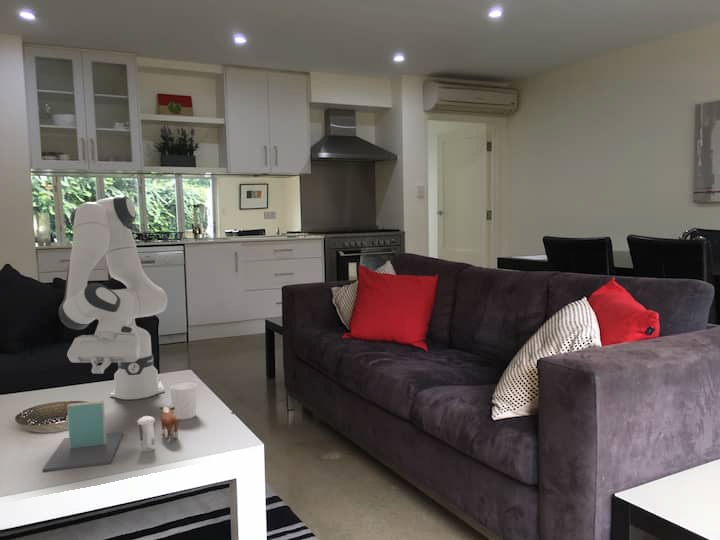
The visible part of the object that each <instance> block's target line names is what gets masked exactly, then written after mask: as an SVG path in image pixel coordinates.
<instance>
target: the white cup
mask: <svg viewBox="0 0 720 540" xmlns="http://www.w3.org/2000/svg"><path fill="white" fill-rule="evenodd" d="M170 395H171V402H172V403H171V406H172V407H174V408H175V409H174V410H173V414H174V415H175V417H176V418H177V419H178V421H180V420H182V421H183V420H190V419H192V418H195V417H196V414H197V384H196V383H194V382H181V383H180V382H179V383H175V384H173V385H171V386H170Z"/></svg>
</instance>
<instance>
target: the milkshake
mask: <svg viewBox="0 0 720 540" xmlns="http://www.w3.org/2000/svg"><path fill="white" fill-rule="evenodd" d="M134 419H135V421H136V422H137V428H138V433H139V441H140V447H141V451H142V452H146V453H148V452H152V451H153V450H155V430H156V429H155V428H156V419H155V417H154V416H150V415H143V416H142V417H140V418H139V419H137V418H136V417H134Z"/></svg>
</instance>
